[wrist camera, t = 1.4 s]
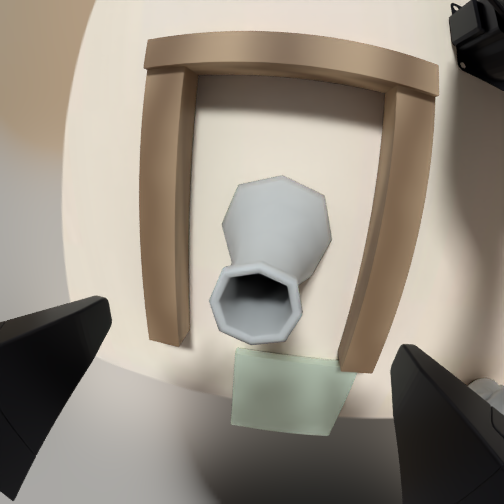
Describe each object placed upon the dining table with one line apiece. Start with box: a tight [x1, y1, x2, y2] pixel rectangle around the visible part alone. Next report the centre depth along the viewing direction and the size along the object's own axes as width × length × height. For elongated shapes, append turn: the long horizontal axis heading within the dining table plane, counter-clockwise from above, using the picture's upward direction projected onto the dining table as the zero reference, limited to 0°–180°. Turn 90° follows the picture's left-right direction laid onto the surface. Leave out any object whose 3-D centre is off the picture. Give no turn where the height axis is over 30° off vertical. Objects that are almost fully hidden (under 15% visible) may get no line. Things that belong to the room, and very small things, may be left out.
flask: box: [209, 175, 332, 345], centre depth 14 cm, size 7×7×10 cm
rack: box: [139, 31, 439, 373], centre depth 17 cm, size 17×21×3 cm
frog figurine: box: [468, 378, 504, 415], centre depth 18 cm, size 6×7×7 cm
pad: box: [231, 348, 357, 436], centre depth 23 cm, size 10×10×1 cm
